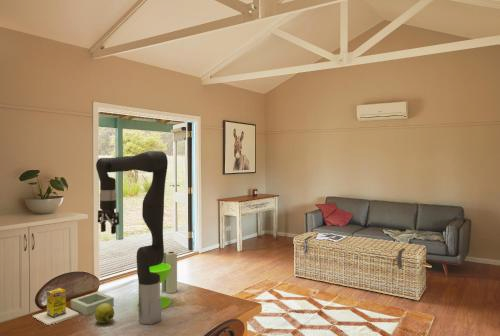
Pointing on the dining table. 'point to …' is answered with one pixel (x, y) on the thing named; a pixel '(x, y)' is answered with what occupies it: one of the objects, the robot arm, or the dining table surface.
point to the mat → (49, 320)
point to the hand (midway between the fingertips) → (108, 232)
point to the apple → (104, 313)
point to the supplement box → (56, 302)
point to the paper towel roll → (171, 280)
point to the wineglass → (163, 272)
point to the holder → (84, 302)
